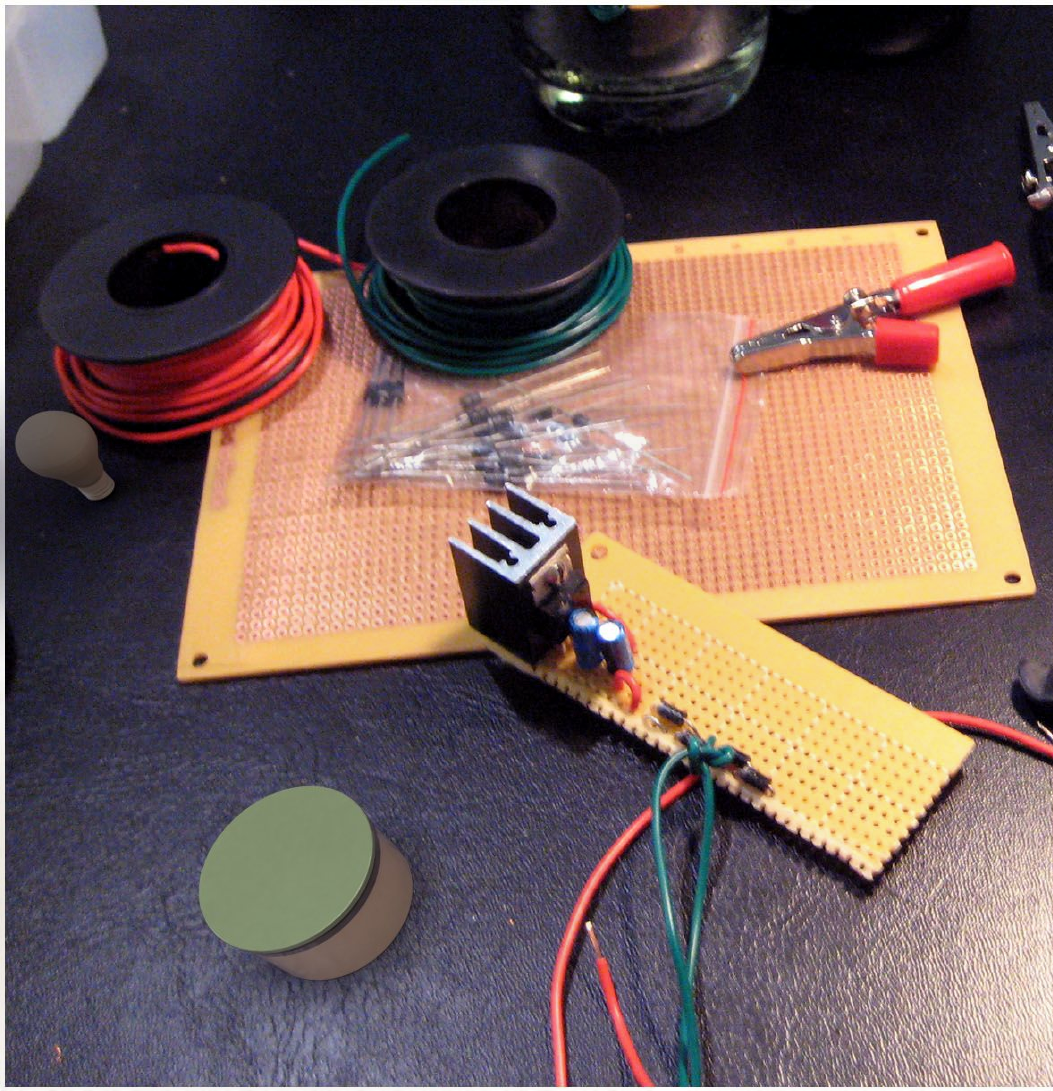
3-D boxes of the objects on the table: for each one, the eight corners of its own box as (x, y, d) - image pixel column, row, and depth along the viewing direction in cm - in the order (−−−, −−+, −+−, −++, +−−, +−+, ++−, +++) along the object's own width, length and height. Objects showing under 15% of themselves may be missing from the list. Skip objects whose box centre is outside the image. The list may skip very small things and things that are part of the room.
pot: (255, 1004, 86) (193, 972, 79) (260, 852, 92) (202, 809, 85) (421, 959, 87) (374, 924, 80) (414, 812, 93) (370, 767, 86)
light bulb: (123, 517, 110) (56, 449, 102) (58, 518, 110) (-13, 450, 102) (145, 465, 114) (83, 395, 105) (83, 467, 114) (15, 397, 106)
